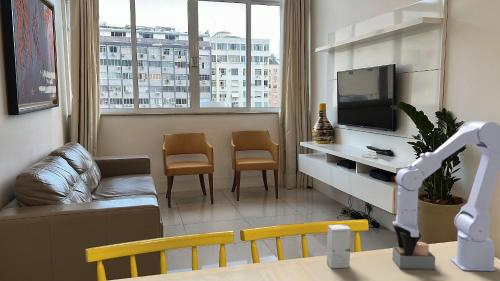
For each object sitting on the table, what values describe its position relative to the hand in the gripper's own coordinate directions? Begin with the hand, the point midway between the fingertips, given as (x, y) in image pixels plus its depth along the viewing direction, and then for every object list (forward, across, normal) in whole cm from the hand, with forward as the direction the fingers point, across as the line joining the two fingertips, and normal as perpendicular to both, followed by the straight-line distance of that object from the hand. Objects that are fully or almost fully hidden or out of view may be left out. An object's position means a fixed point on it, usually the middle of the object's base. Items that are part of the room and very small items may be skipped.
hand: (405, 251), depth 116 cm
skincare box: (+4, +2, -21) cm, 21 cm away
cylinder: (+4, 0, +5) cm, 6 cm away
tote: (+4, 0, +2) cm, 5 cm away
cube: (+4, 0, 0) cm, 4 cm away
